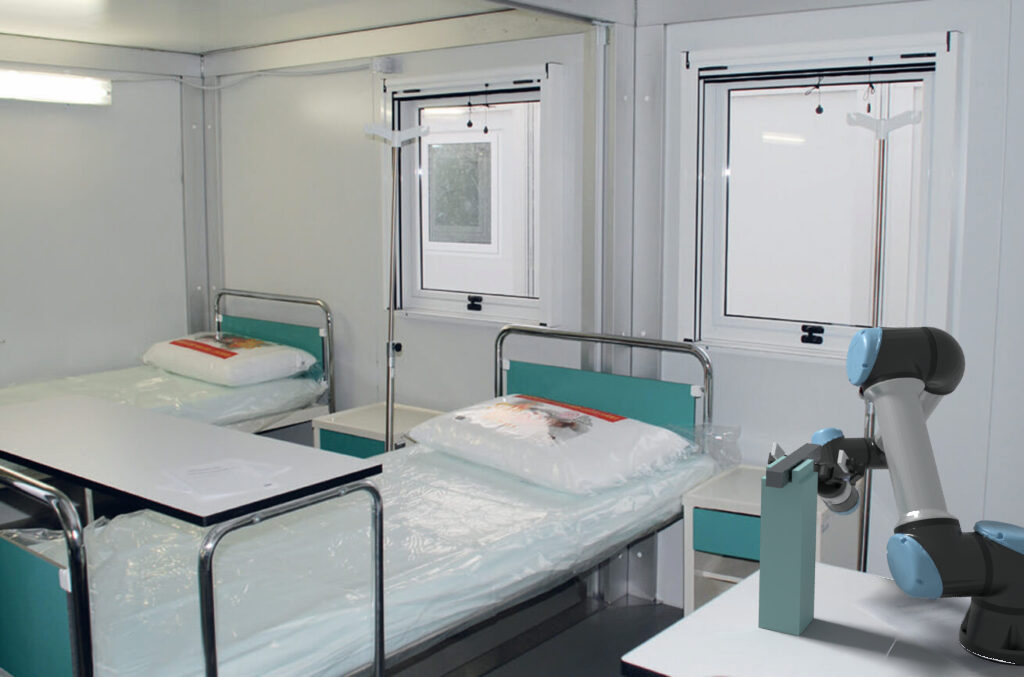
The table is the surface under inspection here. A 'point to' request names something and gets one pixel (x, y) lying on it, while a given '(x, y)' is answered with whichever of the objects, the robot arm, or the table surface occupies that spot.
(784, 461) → the steel bar
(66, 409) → the table surface
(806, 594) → the notched post
